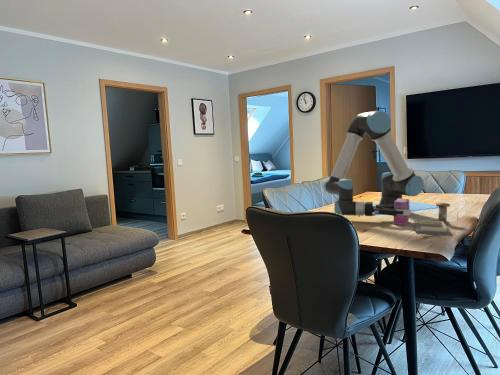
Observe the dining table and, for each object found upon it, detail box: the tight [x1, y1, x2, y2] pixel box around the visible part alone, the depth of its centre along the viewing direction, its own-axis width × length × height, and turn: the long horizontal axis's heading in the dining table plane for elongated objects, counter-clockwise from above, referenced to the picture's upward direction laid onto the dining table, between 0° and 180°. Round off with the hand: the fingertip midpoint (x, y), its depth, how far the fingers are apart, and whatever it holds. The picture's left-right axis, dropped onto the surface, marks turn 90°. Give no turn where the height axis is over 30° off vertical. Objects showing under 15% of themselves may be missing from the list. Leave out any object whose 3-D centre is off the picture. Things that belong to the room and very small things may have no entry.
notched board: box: [414, 219, 452, 235], centre depth 171 cm, size 14×17×3 cm
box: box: [393, 198, 410, 226], centre depth 186 cm, size 10×6×12 cm, turn 148°
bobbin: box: [435, 202, 451, 226], centre depth 182 cm, size 6×6×10 cm
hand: (410, 210), depth 185 cm, fingers closed on box, 11 cm apart
